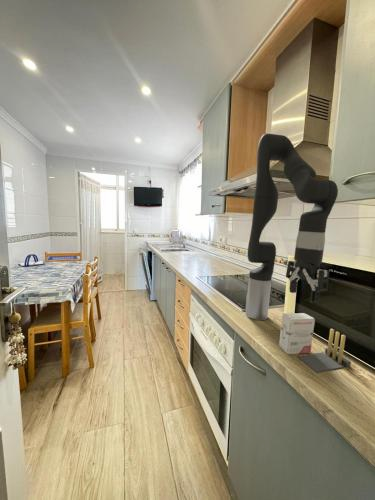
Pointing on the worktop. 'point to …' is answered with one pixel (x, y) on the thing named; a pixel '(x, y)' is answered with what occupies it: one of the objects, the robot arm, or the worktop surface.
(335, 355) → the pin header
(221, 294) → the worktop surface
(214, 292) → the worktop surface
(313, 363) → the rubber pad
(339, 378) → the worktop surface
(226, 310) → the worktop surface
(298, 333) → the ink box
